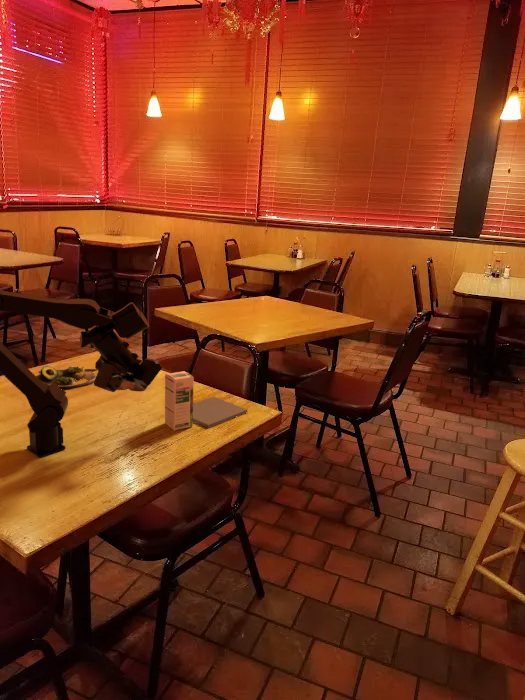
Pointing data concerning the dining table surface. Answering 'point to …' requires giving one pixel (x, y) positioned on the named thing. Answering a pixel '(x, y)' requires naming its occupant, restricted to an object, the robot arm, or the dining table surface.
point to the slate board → (215, 411)
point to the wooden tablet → (129, 386)
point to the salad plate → (66, 376)
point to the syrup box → (179, 400)
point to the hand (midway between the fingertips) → (145, 387)
